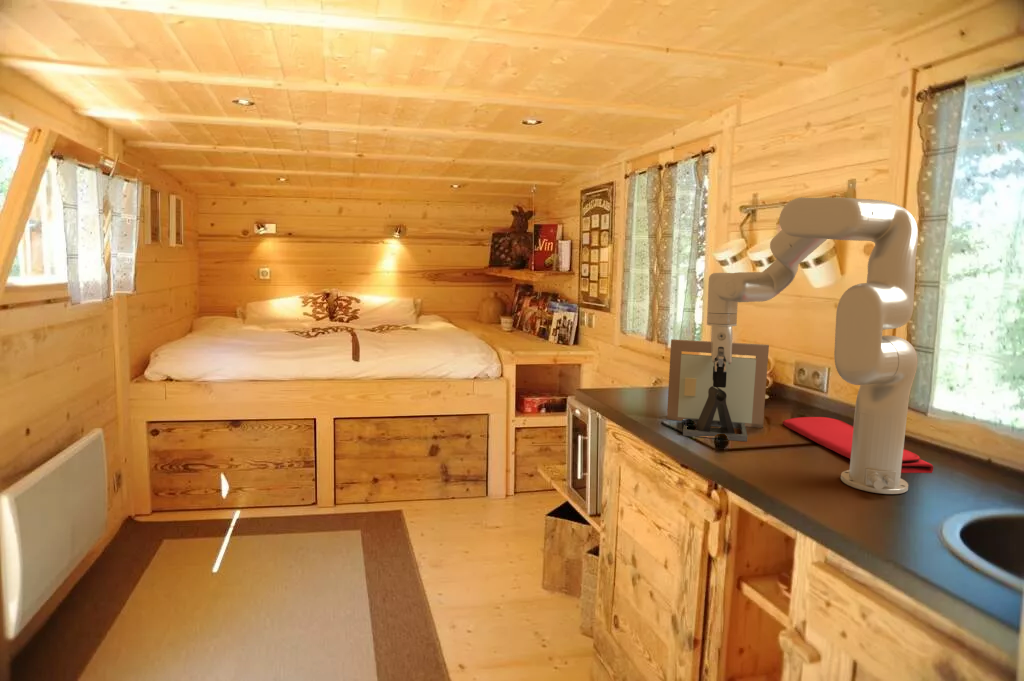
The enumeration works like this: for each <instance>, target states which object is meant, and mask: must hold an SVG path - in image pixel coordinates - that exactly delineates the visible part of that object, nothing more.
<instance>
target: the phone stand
mask: <svg viewBox="0 0 1024 681" xmlns="http://www.w3.org/2000/svg"><path fill="white" fill-rule="evenodd" d="M716 388H717V389H716ZM716 388H715V387H713V386H711V387H710V388H709V390H708V399H707V401H706V403H705V406H704V408H703V410H702V413H701V415H700V417H699V420H698V422H697V424H696V425H695V427H696V429H697V430H699V431H710V432H721V433H732V434H736V432H735V428H733V425H732V421H731V418H730V415H729V411H728V408H727V405H726V396H727V395H726V393H725V392H724V391H723V390H721V389H720V388H718V387H716ZM717 393H718V394H717ZM716 409H718V414H719V419H720V424H721V427H712V426H711V424H712V421H713V418H714V415H715V412H716ZM696 429H695V430H696Z"/></svg>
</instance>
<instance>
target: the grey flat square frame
mask: <svg viewBox="0 0 1024 681" xmlns="http://www.w3.org/2000/svg"><path fill="white" fill-rule="evenodd" d="M685 419H691V420H693V421H694V422H695V423H696V424H697V422H698V420H699V419H696V418H685ZM732 425H733V428H734V429H740V434H739V433H735V434H732V433H721V432H710V431H699V430H696V429H687V427H688V428H689V425H688V426H685V425H684V424H683V429H682V436H683V437H684V436H685V437H693V436H715V435H717V434H725V435H726V436H727V438H728V441H737V442H748V433H747V428H746V427H747V426H745V423H742V422H732ZM711 427H716V428H721V424H720V421H719V420H713V421H712V424H711Z"/></svg>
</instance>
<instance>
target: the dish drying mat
mask: <svg viewBox="0 0 1024 681" xmlns="http://www.w3.org/2000/svg"><path fill="white" fill-rule="evenodd" d="M782 425H783V426H785V427H786V428H788V429H790V430H792V431H793V432H795V433H798V434H799V435H801V436H803V437H804V438H807V439H809V440H811V441H813V442H815V443H816V444H818V445H820V446H822V447H825V448H826V449H829V450H831V451H833V452H835V453H837V454H838V455H840V456H843V457H845V458H847V459H849V460H850V459H851V448H852V438H853V427H854V425H851V424H848V423H847V422H845V421H843V420H839V419H836V418H832V417H826V416H825V417H824V416H800V417H791V418H788V419H784V420H783V421H782ZM933 472H934V465H933V464H932V463H930V462H929V461H928V462H927V461H925V460H923V459H921V457H920V455H918V454H917V453H915V452H912V451H910V450H908V449H905V448H903V458H902V468H901V474H917V473H918V474H920V473H921V474H924V473H925V474H926V473H927V474H932V473H933Z"/></svg>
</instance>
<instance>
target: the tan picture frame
mask: <svg viewBox="0 0 1024 681" xmlns="http://www.w3.org/2000/svg"><path fill="white" fill-rule="evenodd" d="M769 349H770V345H769V344H763V343H762V344H760V343H747V342H746V343H743V342H742V343H741V342H732V355H737V356H738V357H737V356H732V363H731V364H729V362H727V361H726V372H727V374H726V387H725V388H722V387H718V388H720V389H721V390H723V391H724V392H725V393H726V395H727V396H726V405H727V408H728V411H729V415H730V418H731V421H732V422H742V423H745V427H747V428H749V427H750V428H757V429H758V428H761V429H763V428H764V418H765V417H764V416H765V405H766V388H767V376H768V363H769V351H770V350H769ZM683 352H685V353H683ZM688 352H689V353H688ZM669 353H670V355H669V357H670V358H669V372H668V374H669V375H668V391H667V408H666V409H667V410H666V411H667V413H666V420H669V421H670V420H671V421H679V422H680V421H681V422H683V421H682V420H683V419H685V418H696V419H699V417H700V415H701V413H702V410H703V408H704V406H705V403H706V401H707V399H708V390H709V388H710V387H711V386H713V366H714V363H713V362H712V355H706V354H711V340H710V341H707V340H690V339H688V340H687V339H674V338H673V339H670V352H669ZM691 353H700V354H691ZM701 353H703V354H701ZM704 353H705V354H704ZM739 355H740V356H741V357H740V356H739ZM742 356H750V357H742ZM752 356H753V357H752ZM754 357H755V358H754ZM715 388H716V387H715ZM716 389H717V388H716ZM717 394H718V393H717ZM713 420H719V421H720V419H719V414H718V409H716V412H715V415H714V418H713Z"/></svg>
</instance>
